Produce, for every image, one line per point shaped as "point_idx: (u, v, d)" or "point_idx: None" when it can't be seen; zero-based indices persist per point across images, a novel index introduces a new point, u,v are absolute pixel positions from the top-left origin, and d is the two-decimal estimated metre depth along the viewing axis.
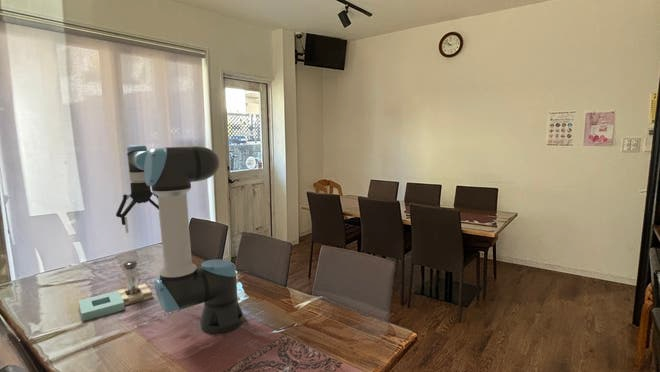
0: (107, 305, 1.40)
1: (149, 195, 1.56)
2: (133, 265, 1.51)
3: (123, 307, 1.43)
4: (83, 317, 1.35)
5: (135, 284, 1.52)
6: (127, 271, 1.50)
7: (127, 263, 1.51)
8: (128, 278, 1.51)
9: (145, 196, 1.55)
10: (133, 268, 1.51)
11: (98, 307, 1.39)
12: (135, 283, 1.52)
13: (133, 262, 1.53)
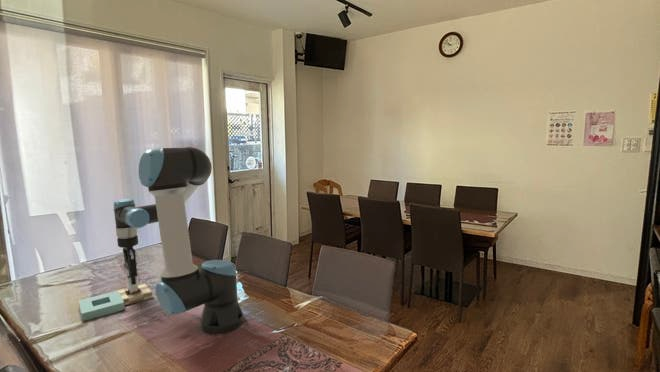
0: (107, 305, 1.40)
1: (127, 252, 1.48)
2: None
3: (123, 307, 1.43)
4: (83, 317, 1.35)
5: None
6: (127, 271, 1.50)
7: (127, 263, 1.52)
8: (128, 278, 1.51)
9: (124, 252, 1.49)
10: None
11: (98, 307, 1.39)
12: None
13: None
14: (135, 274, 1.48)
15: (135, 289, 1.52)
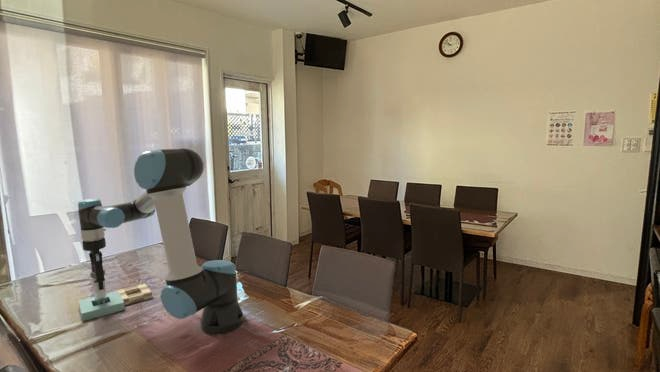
0: (107, 305, 1.40)
1: (93, 256, 1.38)
2: None
3: (123, 307, 1.43)
4: (83, 317, 1.35)
5: None
6: None
7: (94, 272, 1.42)
8: (95, 288, 1.41)
9: (90, 256, 1.39)
10: None
11: (98, 307, 1.39)
12: None
13: None
14: (102, 279, 1.35)
15: (103, 295, 1.39)
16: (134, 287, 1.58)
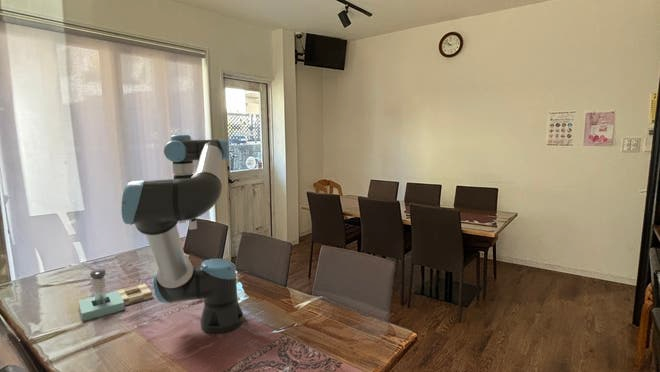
0: (107, 305, 1.40)
1: None
2: (100, 275, 1.41)
3: (123, 307, 1.43)
4: (83, 317, 1.35)
5: (103, 295, 1.43)
6: (94, 281, 1.41)
7: (94, 272, 1.42)
8: (95, 288, 1.41)
9: None
10: (101, 278, 1.41)
11: (98, 307, 1.39)
12: (103, 294, 1.43)
13: (101, 271, 1.43)
14: None
15: (194, 227, 1.41)
16: (134, 287, 1.58)
